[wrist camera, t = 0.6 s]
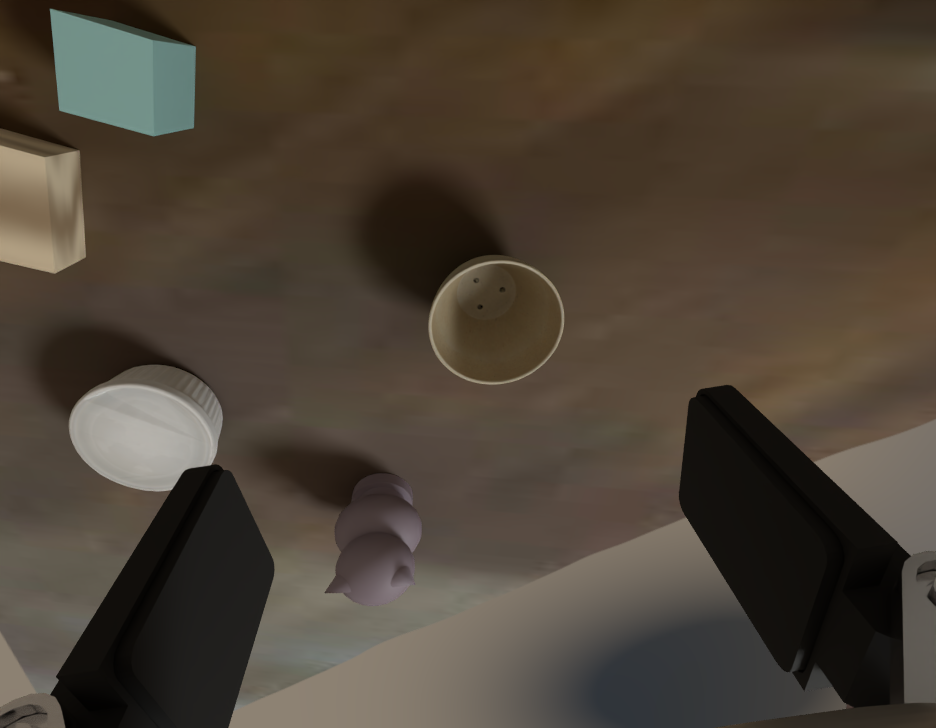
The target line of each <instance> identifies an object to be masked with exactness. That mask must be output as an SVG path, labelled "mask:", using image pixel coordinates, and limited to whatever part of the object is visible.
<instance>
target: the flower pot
mask: <svg viewBox="0 0 936 728" xmlns="http://www.w3.org/2000/svg"><path fill="white" fill-rule="evenodd" d="M474 280H476V283H475V282H474ZM502 287H503V289H500V288H502ZM481 305H482V308H480V306H481ZM563 327H564V308H563V304H562V301H561V298H560V296H559V294H558V292H557V290H556V288H555V287H554V285H553V284H552V283H551V282H550V280H549V279H548V278H547V277H546V276H545V275H543V274H542V273H541V272H540V271H538V270H537V269H536V268H534V267H533V266H531V265H529V264H527V263H526V262H523V261H521V260H519V259H516V258H513V257H509V256H503V255H486V256H480V257H477V258H474V259H471V260H469V261H467V262H465V263H463V264H462V265H460V266H459V267H457V268H456V269H455V270H454V271H453V272H452V273H450V274H449V276H448V277H447V278H446V279H445V280H444V282H443V283H442V285H441V286H440V288H439V289H438V291H437V293H436V295H435V297H434V300H433V303H432V306H431V310H430V314H429V321H428V331H429V338H430V342H431V345H432V348H433V350H434V352H435V354H436V356H437V357H438V359H439V360H440V361H441V362H442V364H443V365H444V366H445V367H446V368H448V369H449V370H450V371H451V372H453V373H454V374H456V375H457V376H459V377H461V378H463V379H465V380H468V381H472V382H475V383H481V384H503V383H508V382H512V381H516V380H519V379H521V378H523V377H525V376H527V375H529V374H531V373H533V372H534V371H535V370H537V369H538V368H539V367H541V366H542V365H543V364H544V363H545V362H546V361H547V360H548V359H549V358H550V356H551V355H552V354H553V352H554V351H555V349H556V347H557V345H558V343H559V341H560V339H561V336H562V332H563Z"/></svg>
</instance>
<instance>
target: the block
mask: <svg viewBox="0 0 936 728" xmlns="http://www.w3.org/2000/svg"><path fill="white" fill-rule="evenodd" d="M50 14H51V25H52V36H53V46H54V57H55V68H56V79H57V89H58V100H59V111H63V112H67V113H70V114H74V115H78V116H81V117H85V118H89V119H92V120H96V121H100V122H103V123H107V124H111V125H114V126H118V127H122V128H125V129H129V130H133V131H136V132H140V133H144V134H148V135H151V136H157V135H162V134H167V133H172V132H177V131H181V130H186V129H191V128H194V97H195V51H196V47H195V46H192V45H189V44H186V43H183V42H179V41H176V40H173V39H170V38H166V37H163V36H160V35H157V34H154V33H150V32H147V31H144V30H141V29H137V28H134V27H131V26H128V25H125V24H121V23H118V22H115V21H112V20H107V19H102V18H96V17H91V16H86V15H81V14H76V13H70V12H65V11H60V10H55V9H50Z"/></svg>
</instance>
